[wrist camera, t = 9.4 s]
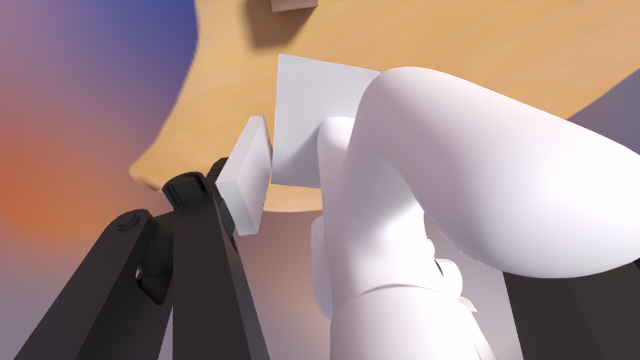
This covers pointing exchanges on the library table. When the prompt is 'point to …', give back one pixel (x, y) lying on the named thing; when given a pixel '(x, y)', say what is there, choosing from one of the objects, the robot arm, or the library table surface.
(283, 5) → the walnut block
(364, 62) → the library table surface
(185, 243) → the robot arm
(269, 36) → the library table surface
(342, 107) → the figurine
